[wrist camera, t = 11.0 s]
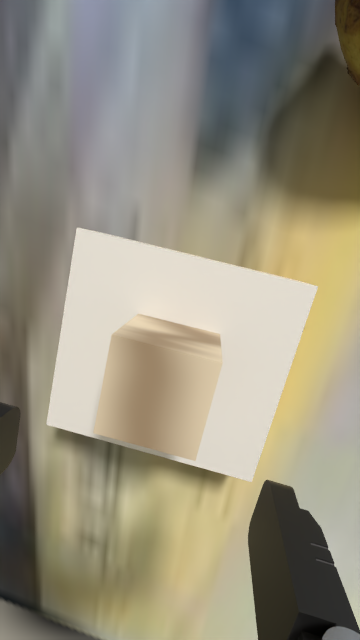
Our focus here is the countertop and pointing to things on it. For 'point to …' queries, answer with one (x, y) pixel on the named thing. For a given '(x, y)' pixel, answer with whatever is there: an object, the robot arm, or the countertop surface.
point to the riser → (187, 309)
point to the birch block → (159, 385)
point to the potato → (349, 34)
